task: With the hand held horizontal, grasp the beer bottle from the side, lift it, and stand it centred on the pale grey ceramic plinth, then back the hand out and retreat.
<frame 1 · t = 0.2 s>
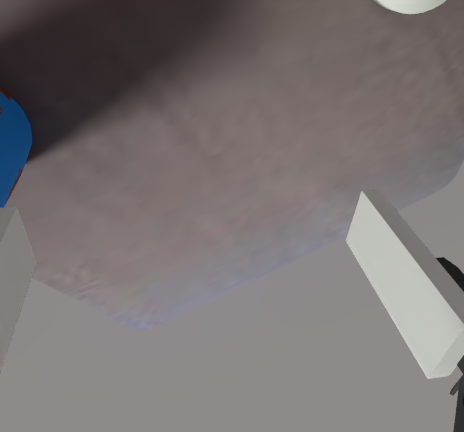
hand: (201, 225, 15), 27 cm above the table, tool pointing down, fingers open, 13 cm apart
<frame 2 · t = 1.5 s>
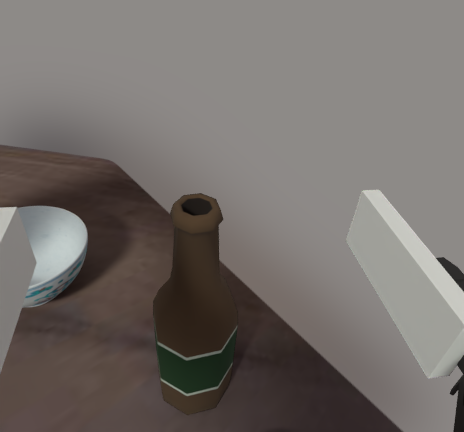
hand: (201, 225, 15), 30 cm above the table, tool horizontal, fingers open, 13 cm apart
chinaware: (37, 287, 50), on the table
beer bottle: (194, 382, 42), on the table
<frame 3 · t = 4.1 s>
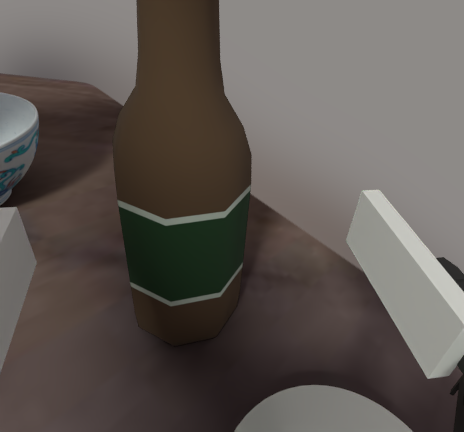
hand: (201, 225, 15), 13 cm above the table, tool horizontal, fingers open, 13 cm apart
beer bottle: (185, 305, 28), on the table
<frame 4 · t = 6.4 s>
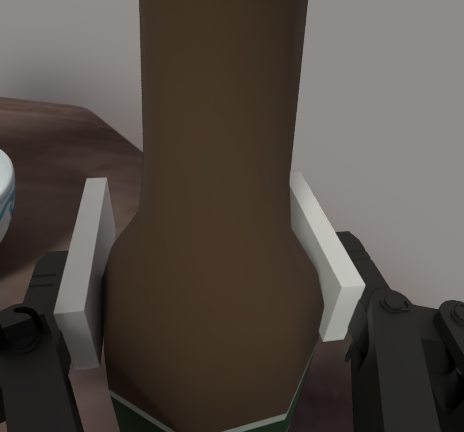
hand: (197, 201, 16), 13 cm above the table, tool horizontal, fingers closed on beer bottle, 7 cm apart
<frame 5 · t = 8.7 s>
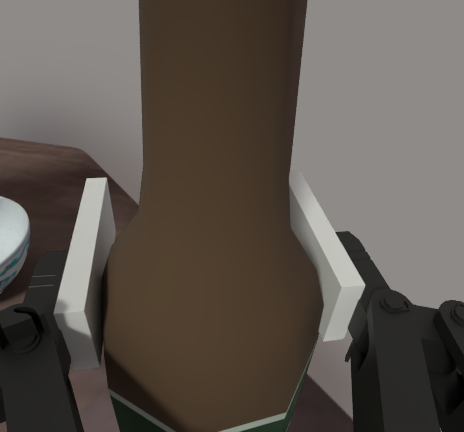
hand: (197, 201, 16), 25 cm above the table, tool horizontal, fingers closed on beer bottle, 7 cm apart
when the fingers open (17 cm above the table, at t = 10.9 s): beer bottle drops 1 cm, resting on plinth.
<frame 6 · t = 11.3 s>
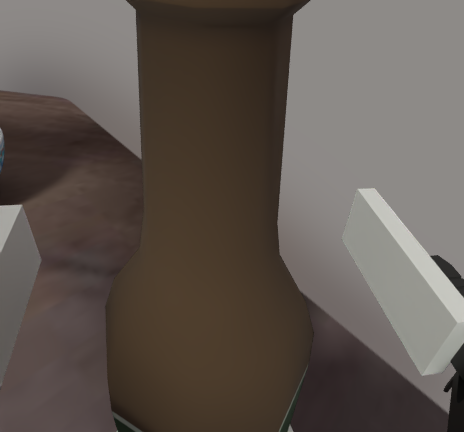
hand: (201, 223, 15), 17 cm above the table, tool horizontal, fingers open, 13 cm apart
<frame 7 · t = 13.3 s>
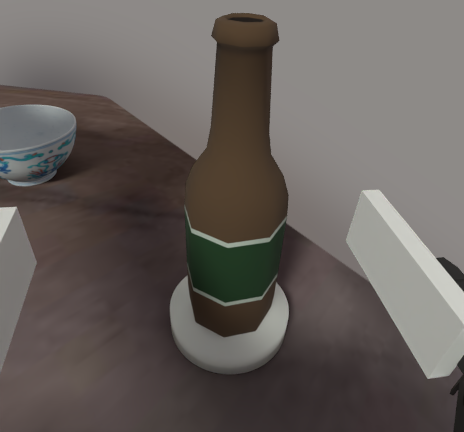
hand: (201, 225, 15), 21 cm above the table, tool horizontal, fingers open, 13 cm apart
chinaware: (32, 175, 56), on the table
plinth: (228, 321, 37), on the table
beer bottle: (229, 305, 35), point 2 cm above the table, touching plinth
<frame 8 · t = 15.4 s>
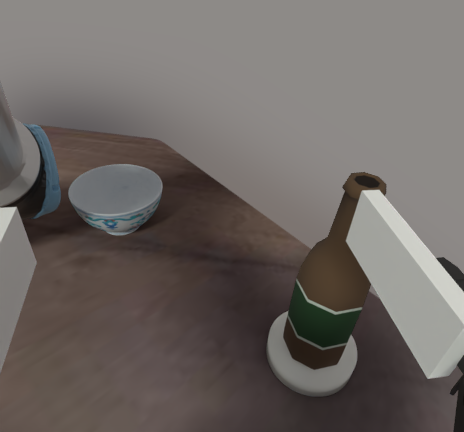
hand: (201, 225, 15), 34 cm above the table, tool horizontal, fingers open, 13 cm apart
chinaware: (122, 224, 68), on the table
plinth: (308, 354, 49), on the table
beer bottle: (312, 344, 48), point 2 cm above the table, touching plinth
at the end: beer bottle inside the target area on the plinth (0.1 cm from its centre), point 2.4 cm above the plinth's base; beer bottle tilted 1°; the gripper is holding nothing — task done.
